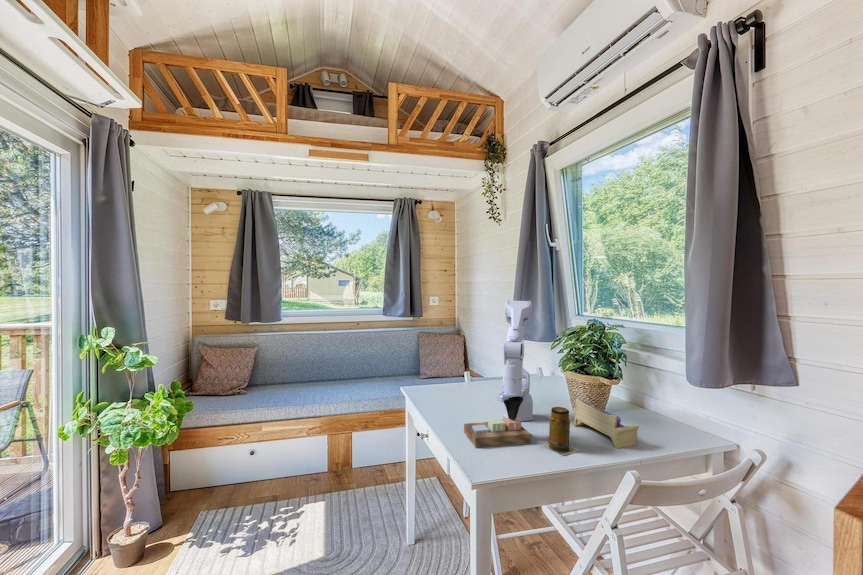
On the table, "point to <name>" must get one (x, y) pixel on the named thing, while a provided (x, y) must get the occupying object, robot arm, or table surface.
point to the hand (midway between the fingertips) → (512, 418)
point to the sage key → (496, 425)
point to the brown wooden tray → (496, 436)
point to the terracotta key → (512, 424)
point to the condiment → (560, 431)
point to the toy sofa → (605, 424)
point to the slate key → (480, 429)
